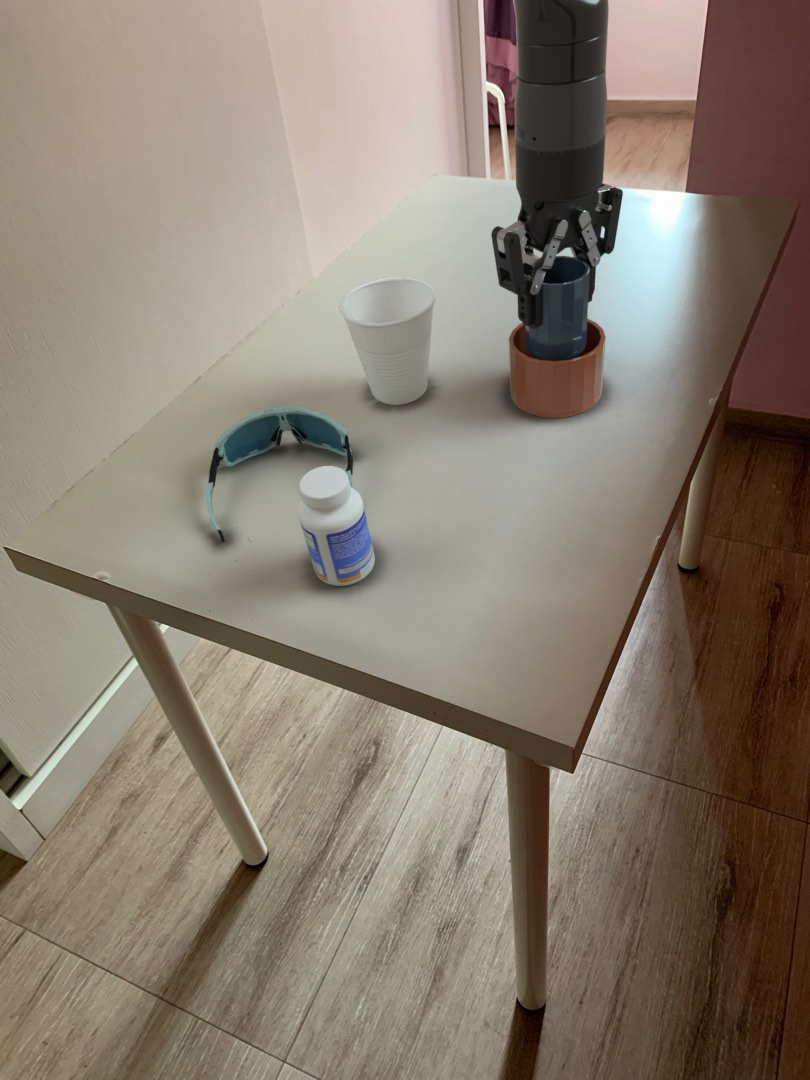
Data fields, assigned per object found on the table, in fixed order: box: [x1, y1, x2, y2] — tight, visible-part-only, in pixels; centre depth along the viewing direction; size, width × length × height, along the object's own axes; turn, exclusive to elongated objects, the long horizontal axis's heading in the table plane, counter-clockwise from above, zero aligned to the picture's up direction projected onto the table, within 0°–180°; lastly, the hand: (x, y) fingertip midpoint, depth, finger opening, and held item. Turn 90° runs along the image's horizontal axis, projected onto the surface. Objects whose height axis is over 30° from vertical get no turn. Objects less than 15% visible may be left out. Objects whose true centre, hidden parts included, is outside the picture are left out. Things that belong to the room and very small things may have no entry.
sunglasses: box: [205, 405, 354, 543], centre depth 78 cm, size 14×15×5 cm
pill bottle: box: [297, 465, 376, 587], centre depth 67 cm, size 5×5×10 cm
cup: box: [338, 276, 437, 406], centre depth 86 cm, size 10×10×11 cm
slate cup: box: [525, 255, 590, 360], centre depth 79 cm, size 6×6×8 cm
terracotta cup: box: [508, 318, 607, 419], centre depth 84 cm, size 10×10×6 cm
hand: (556, 312), depth 80 cm, fingers closed on slate cup, 6 cm apart
